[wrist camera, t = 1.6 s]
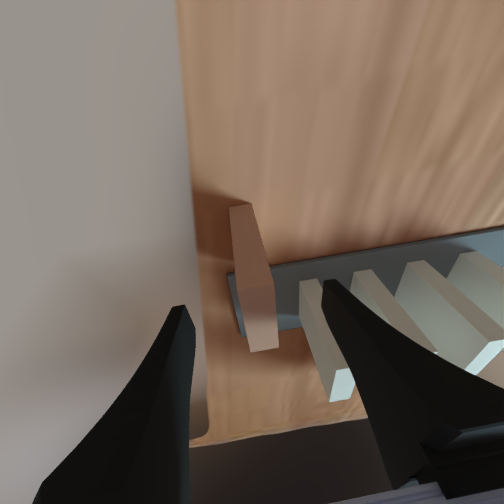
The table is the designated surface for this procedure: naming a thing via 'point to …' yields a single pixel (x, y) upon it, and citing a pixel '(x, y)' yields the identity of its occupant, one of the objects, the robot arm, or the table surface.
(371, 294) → the domino
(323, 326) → the domino
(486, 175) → the table surface
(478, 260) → the domino
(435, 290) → the domino
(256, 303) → the terracotta domino
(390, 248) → the mat
